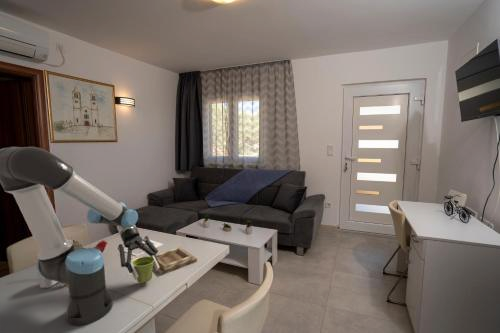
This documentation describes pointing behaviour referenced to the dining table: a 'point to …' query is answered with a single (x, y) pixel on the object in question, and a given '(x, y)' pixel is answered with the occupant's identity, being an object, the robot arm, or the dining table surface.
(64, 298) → the dining table surface
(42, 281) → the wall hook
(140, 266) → the plant pot
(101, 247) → the decorative bird figurine
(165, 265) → the walnut pot stand
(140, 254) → the photo frame
